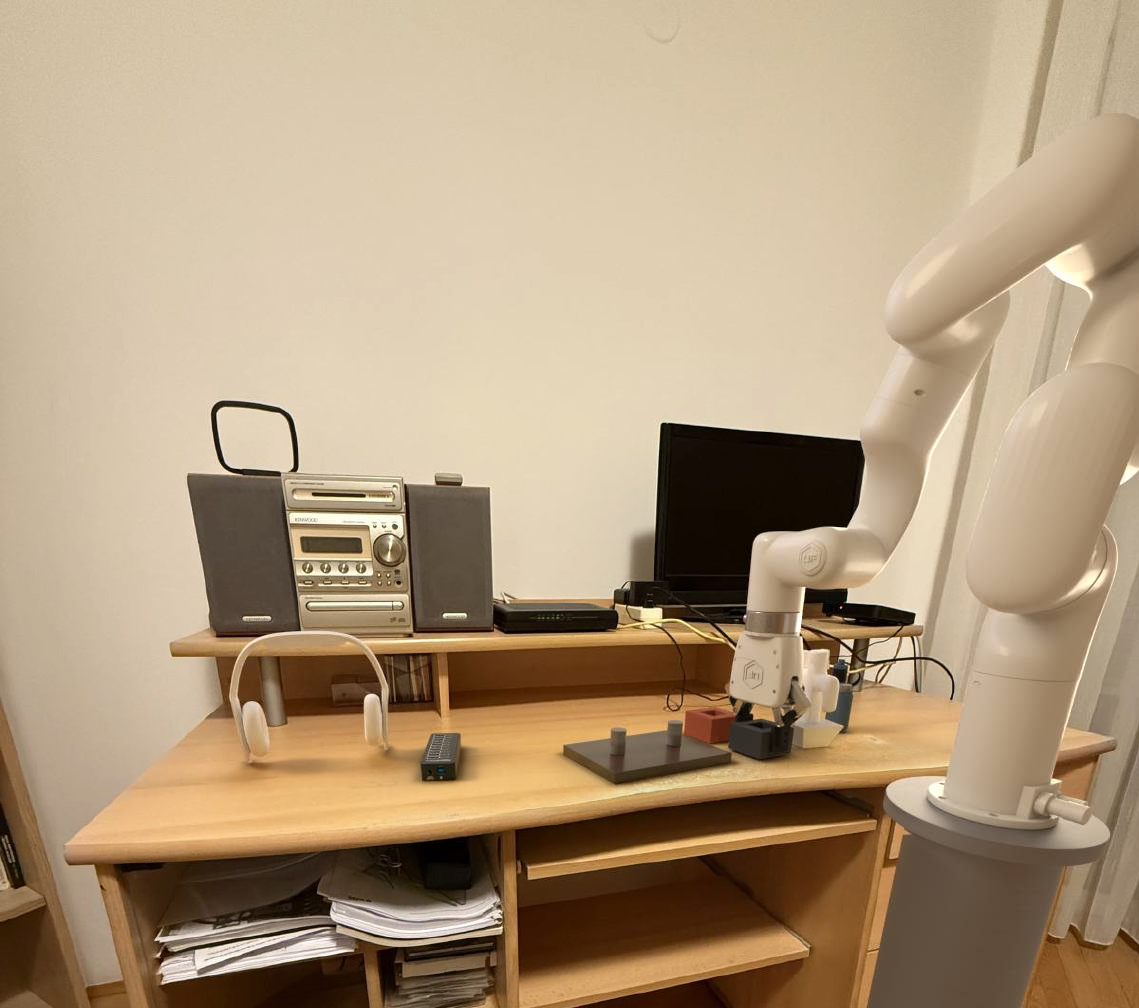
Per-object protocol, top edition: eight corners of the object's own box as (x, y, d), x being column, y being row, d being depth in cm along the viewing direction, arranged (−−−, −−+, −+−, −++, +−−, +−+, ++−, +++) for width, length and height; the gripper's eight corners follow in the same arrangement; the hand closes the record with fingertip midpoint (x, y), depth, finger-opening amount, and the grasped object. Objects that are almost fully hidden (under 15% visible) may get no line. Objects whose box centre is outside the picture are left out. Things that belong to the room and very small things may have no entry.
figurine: (804, 753, 91) (819, 654, 87) (769, 736, 100) (781, 646, 95) (845, 750, 93) (861, 653, 88) (807, 734, 102) (820, 645, 97)
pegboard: (731, 762, 86) (734, 729, 85) (614, 784, 77) (616, 747, 76) (670, 738, 98) (672, 708, 96) (563, 754, 89) (563, 721, 87)
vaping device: (834, 725, 108) (845, 658, 104) (849, 733, 103) (861, 663, 99) (821, 725, 108) (831, 658, 104) (835, 733, 103) (846, 663, 99)
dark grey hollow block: (791, 753, 90) (794, 727, 88) (759, 759, 87) (762, 732, 85) (758, 742, 95) (761, 718, 94) (727, 748, 92) (730, 722, 91)
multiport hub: (461, 747, 91) (460, 732, 91) (456, 779, 78) (455, 762, 77) (431, 747, 91) (430, 733, 90) (421, 780, 77) (420, 763, 76)
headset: (237, 774, 78) (214, 636, 73) (244, 758, 84) (223, 629, 79) (395, 760, 85) (385, 632, 79) (391, 746, 91) (381, 626, 86)
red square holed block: (740, 738, 98) (742, 715, 97) (709, 743, 95) (712, 719, 94) (713, 729, 104) (715, 706, 103) (683, 733, 101) (685, 710, 100)
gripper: (711, 620, 91) (702, 735, 96) (803, 630, 76) (787, 764, 82) (747, 619, 94) (737, 729, 100) (842, 628, 80) (824, 757, 85)
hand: (759, 744), depth 91 cm, fingers closed on dark grey hollow block, 6 cm apart
